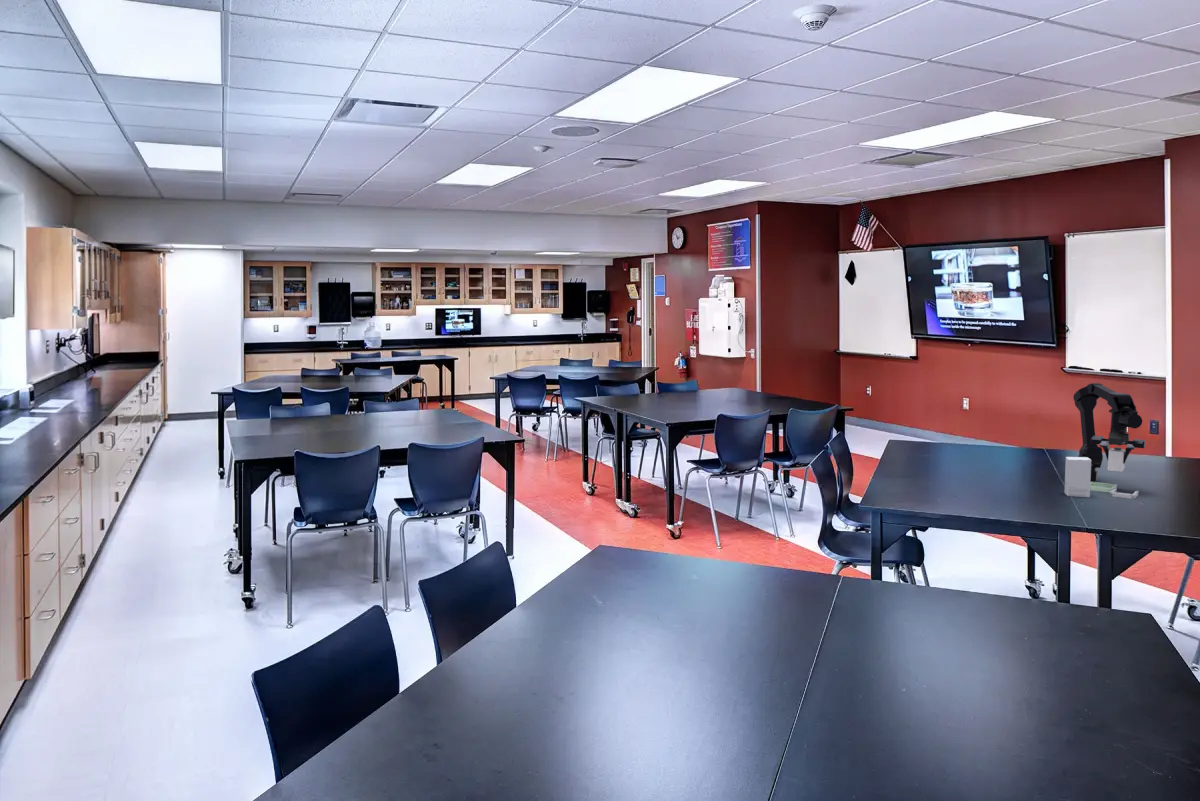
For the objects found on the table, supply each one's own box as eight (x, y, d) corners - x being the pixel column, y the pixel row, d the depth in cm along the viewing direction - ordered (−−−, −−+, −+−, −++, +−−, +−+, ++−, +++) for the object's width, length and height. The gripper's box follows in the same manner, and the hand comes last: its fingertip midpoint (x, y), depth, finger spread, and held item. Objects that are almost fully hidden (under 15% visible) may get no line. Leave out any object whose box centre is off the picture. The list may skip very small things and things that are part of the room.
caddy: (1107, 470, 341) (1108, 448, 340) (1110, 467, 347) (1111, 446, 346) (1121, 471, 338) (1123, 450, 337) (1124, 468, 343) (1125, 447, 342)
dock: (1109, 497, 332) (1109, 492, 332) (1113, 493, 339) (1113, 488, 339) (1134, 500, 327) (1134, 495, 326) (1138, 496, 334) (1138, 491, 334)
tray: (1085, 491, 343) (1086, 486, 343) (1091, 486, 352) (1091, 481, 351) (1111, 494, 337) (1112, 489, 337) (1116, 489, 346) (1117, 484, 346)
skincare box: (1086, 495, 336) (1089, 457, 334) (1090, 499, 330) (1092, 459, 328) (1063, 494, 338) (1065, 455, 337) (1066, 497, 332) (1068, 458, 331)
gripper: (1089, 425, 340) (1086, 463, 341) (1143, 429, 328) (1140, 468, 330) (1093, 422, 348) (1091, 459, 350) (1147, 426, 337) (1144, 464, 339)
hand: (1116, 462), depth 342 cm, fingers closed on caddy, 5 cm apart
